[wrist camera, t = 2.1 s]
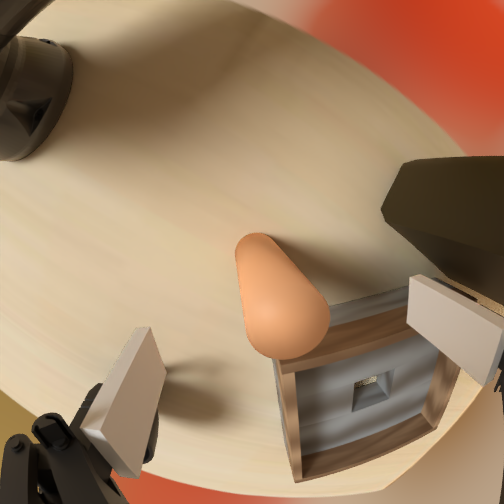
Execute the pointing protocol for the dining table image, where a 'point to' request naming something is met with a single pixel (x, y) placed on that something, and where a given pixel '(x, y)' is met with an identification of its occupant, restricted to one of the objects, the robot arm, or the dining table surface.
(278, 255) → the peg
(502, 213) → the bottle
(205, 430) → the dining table surface
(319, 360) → the crate
